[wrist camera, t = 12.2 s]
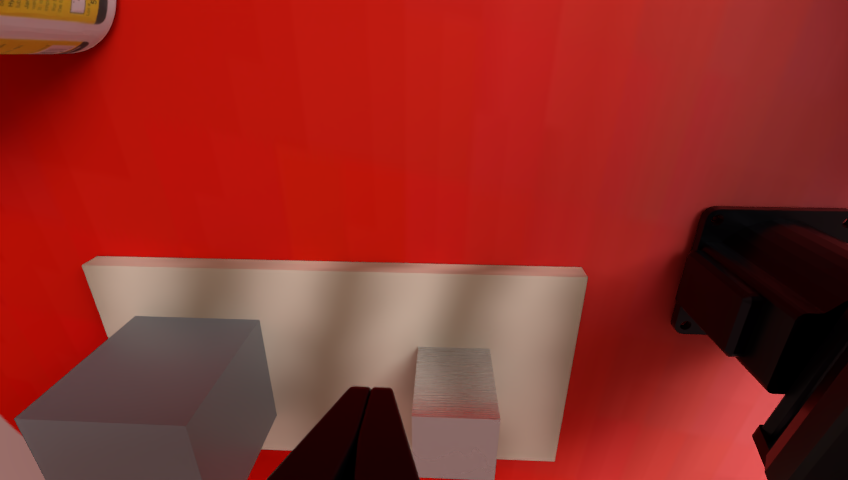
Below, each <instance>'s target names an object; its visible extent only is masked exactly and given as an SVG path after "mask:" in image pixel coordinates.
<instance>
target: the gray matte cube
mask: <svg viewBox="0 0 848 480" xmlns="http://www.w3.org/2000/svg"><path fill="white" fill-rule="evenodd" d="M276 416H277V413H276V408H275V402H274V397H273V391H272V386H271V380H270V375H269V369H268V364H267V358H266V353H265V347H264V342H263V336H262V331H261V325H260V320H249V319H217V318H185V317H152V316H135V317H133V318H132V319H131V320H130V321H129V322H127V323H126V324H125V325H124V326H123V327H122V328H120V329H119V330H118V331H117V332H116V333H115V334H113V335H112V336H111V337H110V338H109V339H107V340H106V341H105V342H104V343H103V344H102V345H100V346H99V347H98V348H97V349H96V350H95V351H93V352H92V353H91V354H90V355H89V356H87V357H86V358H85V359H84V360H83V361H82V362H80V363H79V364H78V365H77V366H76V367H75V368H73V369H72V370H71V371H70V372H69V373H67V374H66V375H65V376H64V377H63V378H62V379H60V380H59V381H58V382H57V383H56V384H55V385H53V386H52V387H51V388H50V389H49V390H47V391H46V392H45V393H44V394H43V395H42V396H40V397H39V398H38V399H37V400H36V401H35V402H33V403H32V404H31V405H30V406H29V407H27V408H26V409H25V410H24V411H23V412H22V413H20V414H19V415H18V416H17V417H16V418H14V420H15V422H16V424H17V426H18V428H19V430H20V432H21V433H22V435H23V437H24V439H25V441H26V443H27V445H28V447H29V449H30V450H31V453H32V454H33V457H34V458H35V460H36V462H37V464H38V466H39V468H40V470H41V472H42V474H43V476H44V478H45V480H247V479H248V476H249V474H250V472H251V470H252V468H253V466H254V464H255V461H256V459H257V457H258V455H259V453H260V451H261V448H262V446H263V444H264V442H265V440H266V438H267V436H268V433H269V431H270V429H271V427H272V425H273V423H274V420H275V418H276Z"/></svg>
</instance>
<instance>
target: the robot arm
mask: <svg viewBox="0 0 848 480" xmlns="http://www.w3.org/2000/svg"><path fill="white" fill-rule="evenodd" d="M716 215H718V218H717V220H716V221H714V222H711V220H712V218H713V217H714V216H716ZM845 219H847V220H846V222H845V223H843V221H844V220H845ZM676 301H677V302H676V305H675V309H674V312H673V316H672V320H671V324H672V326H673V328H674V329H675V330H676V331H677V332H678V333H681V334H704V335H708V336H709V337H710V338H711V339H712V340H713V341H714V342H715V344H716V345H717V346H718V347H719V348H720V349H721V350H722V351H723V352H724V353H725V354H726V355H727V356H728V357H735V358H736V359H737V360H738V361H739V362H740V363H741V364H742V365H743V366H744V367H745V368H746V369H747V370H748V371H749V372H750V373H751V374H752V375H753V376H754V377H755V379H756V380H757V381H758V382H759V383H760V384H761V385H762V386H763V387H764V388H765V389H766V390H767V391H768V392H769V393H772V394H785V396H784V397H783V399H782V400H781V401H780V403H779V404H778V406H777V407H776V408H775V410H774V411H773V413H772V414H771V415H770V417H769V418H768V420H767V421H766V422H765V424H764V425H759V426H758V428H757V429H756V431H755V432H754V434H753V435H752V437H753V440H754V442H755V444H756V447H757V449H758V452H759V454H760V457H761V459H762V462H763V464H764V467H765V474H766V477H767V479H768V480H848V209H846V208H791V207H731V206H714V207H710V208H708V209H706V210H705V211H704V212H703V213H702V215H701V218H700V221H699V225H698V228H697V232H696V235H695V239H694V242H693V246H692V249H691V252H690V253H689V254H688V256H687V259H686V263H685V266H684V270H683V273H682V277H681V281H680V284H679V288H678V291H677V295H676ZM684 321H686V323H685V324H683V325H681V323H683V322H684ZM266 480H420V479H419V475H418V472H417V469H416V465H415V462H414V459H413V455H412V452H411V449H410V445H409V442H408V439H407V435H406V432H405V429H404V425H403V422H402V419H401V415H400V412H399V409H398V405H397V402H396V399H395V395H394V392H393V390H392V388H390V387H373V388H372V389H371V388H370V387H365V386H352V387H350V388H349V389H348V390H347V391H346V392H345V393H344V394H343V395H342V396H341V397H340V398H339V400H338V401H337V402H336V403H335V404H334V405H333V406H332V407H331V408H330V410H329V411H328V412H327V413H326V414H325V415H324V416H323V417H322V418H321V419H320V421H319V422H318V423H317V424H316V425H315V426H314V427H313V428H312V429H311V431H310V432H309V433H308V434H307V435H306V436H305V437H304V438H303V439H302V441H301V442H300V443H299V444H298V445H297V446H296V447H295V448H294V449H293V451H292V452H291V453H290V454H289V455H288V456H287V457H286V458H285V459H284V461H283V462H282V463H281V464H280V465H279V466H278V467H277V468H276V469H275V471H274V472H273V473H272V474H271V475H270V476H269V477H268V478H267V479H266Z"/></svg>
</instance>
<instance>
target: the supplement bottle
mask: <svg viewBox="0 0 848 480" xmlns="http://www.w3.org/2000/svg"><path fill="white" fill-rule="evenodd" d="M115 11H116V0H0V54H69V53H77V52H82V51H85V50H88V49H90V48H92V47H94V46H95V45H96V44H98V43H99V42H100V41H101V40H102V39H103V38H104V37H105V36H106V34H107V33H108V31H109V29H110V27H111V25H112V23H113V20H114V16H115Z"/></svg>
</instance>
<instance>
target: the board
mask: <svg viewBox="0 0 848 480" xmlns="http://www.w3.org/2000/svg"><path fill="white" fill-rule="evenodd" d="M82 268H83V270H84V273H85V276H86V279H87V281H88V284H89V287H90V290H91V292H92V295H93V298H94V301H95V303H96V306H97V309H98V312H99V314H100V317H101V320H102V323H103V325H104V328H105V331H106V333H107V336H108V339H109V338H110V337H111V336H112V335H113V334H115V333H116V332H117V331H118V330H119V329H120V328H122V327H123V326H124V325H125V324H126V323H127V322H129V321H130V320H131V319H132V318H133V317H135V316H152V317H185V318H217V319H249V320H260V325H261V331H262V336H263V342H264V347H265V353H266V358H267V364H268V369H269V375H270V380H271V386H272V391H273V397H274V402H275V408H276V413H277V416H276V418H275V420H274V423H273V425H272V427H271V429H270V431H269V433H268V436H267V438H266V440H265V442H264V444H263V446H262V448H261V449H264V450H289V451H293V449H294V448H295V447H296V446H297V445H298V444H299V443H300V442H301V441H302V439H303V438H304V437H305V436H306V435H307V434H308V433H309V432H310V431H311V429H312V428H313V427H314V426H315V425H316V424H317V423H318V422H319V421H320V419H321V418H322V417H323V416H324V415H325V414H326V413H327V412H328V411H329V410H330V408H331V407H332V406H333V405H334V404H335V403H336V402H337V401H338V400H339V398H340V397H341V396H342V395H343V394H344V393H345V392H346V391H347V390H348V389H349V388H350V387H352V386H365V387H370V388H371V389H372V388H373V387H390V388H392V390H393V392H394V395H395V399H396V402H397V405H398V409H399V412H400V415H401V419H402V422H403V425H404V429H405V432H406V435H407V439H408V442H409V445H410V449H411V452H412V408H413V397H414V387H415V376H416V365H417V354H418V347H448V348H480V349H490V354H491V360H492V367H493V374H494V380H495V387H496V394H497V400H498V407H499V413H500V429H499V439H498V449H497V459H506V460H531V461H555V457H556V451H557V446H558V440H559V435H560V429H561V424H562V418H563V413H564V407H565V402H566V396H567V390H568V385H569V379H570V374H571V368H572V363H573V357H574V352H575V346H576V341H577V335H578V330H579V324H580V319H581V313H582V307H583V302H584V296H585V291H586V285H587V280H588V277H587V275H586V273H585V272H584V270H583V269H582V267H552V266H508V265H464V264H420V263H376V262H332V261H288V260H244V259H200V258H156V257H112V256H97V257H95V258H93V259H91V260H90V261H88V262H86V263H85V264H83V265H82Z"/></svg>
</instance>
